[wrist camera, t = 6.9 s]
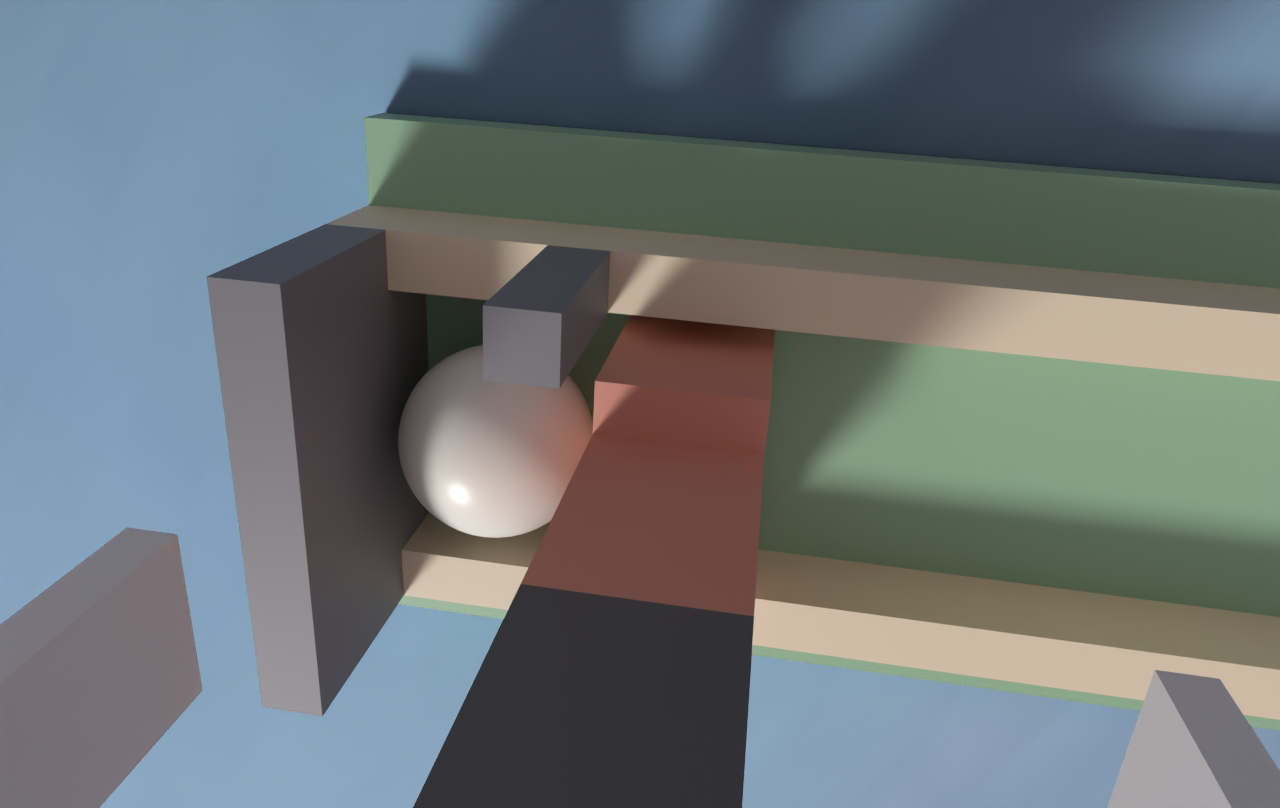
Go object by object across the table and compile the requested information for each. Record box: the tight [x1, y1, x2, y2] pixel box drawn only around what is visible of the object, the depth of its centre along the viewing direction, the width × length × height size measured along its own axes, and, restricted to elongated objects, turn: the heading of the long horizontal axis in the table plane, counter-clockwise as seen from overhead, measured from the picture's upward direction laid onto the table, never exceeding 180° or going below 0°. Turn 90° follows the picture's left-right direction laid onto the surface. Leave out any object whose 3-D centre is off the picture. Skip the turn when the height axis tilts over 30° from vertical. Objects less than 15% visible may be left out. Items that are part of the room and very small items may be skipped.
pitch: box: [207, 113, 1280, 730], centre depth 18 cm, size 12×22×7 cm, turn 87°
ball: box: [398, 345, 593, 538], centre depth 19 cm, size 4×4×4 cm
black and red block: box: [413, 315, 775, 808], centre depth 14 cm, size 5×3×14 cm, turn 177°
